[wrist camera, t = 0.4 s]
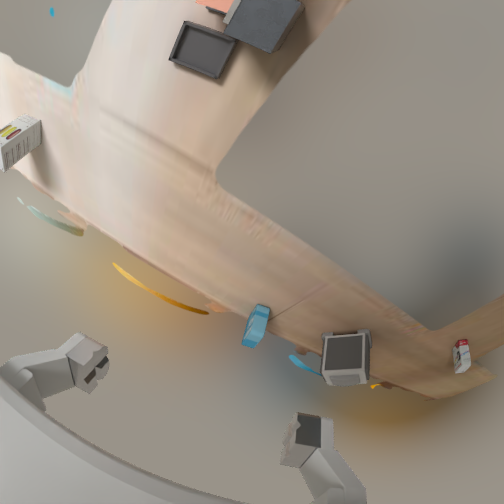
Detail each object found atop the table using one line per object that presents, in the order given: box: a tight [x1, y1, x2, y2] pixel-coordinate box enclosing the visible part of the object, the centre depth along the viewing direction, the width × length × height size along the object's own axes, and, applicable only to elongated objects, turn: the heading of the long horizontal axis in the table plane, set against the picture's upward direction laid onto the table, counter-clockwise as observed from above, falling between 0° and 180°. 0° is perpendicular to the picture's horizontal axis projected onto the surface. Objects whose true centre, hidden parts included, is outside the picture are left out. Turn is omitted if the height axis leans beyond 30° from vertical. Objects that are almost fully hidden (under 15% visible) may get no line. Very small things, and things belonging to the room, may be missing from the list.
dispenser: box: [206, 0, 305, 54], centre depth 34 cm, size 16×10×10 cm, turn 64°
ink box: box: [452, 340, 471, 373], centre depth 88 cm, size 9×5×12 cm, turn 13°
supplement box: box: [0, 114, 41, 172], centre depth 57 cm, size 10×9×17 cm
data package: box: [242, 304, 270, 348], centre depth 97 cm, size 12×4×12 cm, turn 162°
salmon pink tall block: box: [196, 0, 234, 13], centre depth 33 cm, size 6×3×9 cm, turn 64°
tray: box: [169, 21, 238, 79], centre depth 43 cm, size 11×9×2 cm
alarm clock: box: [320, 329, 372, 386], centre depth 97 cm, size 18×13×18 cm
